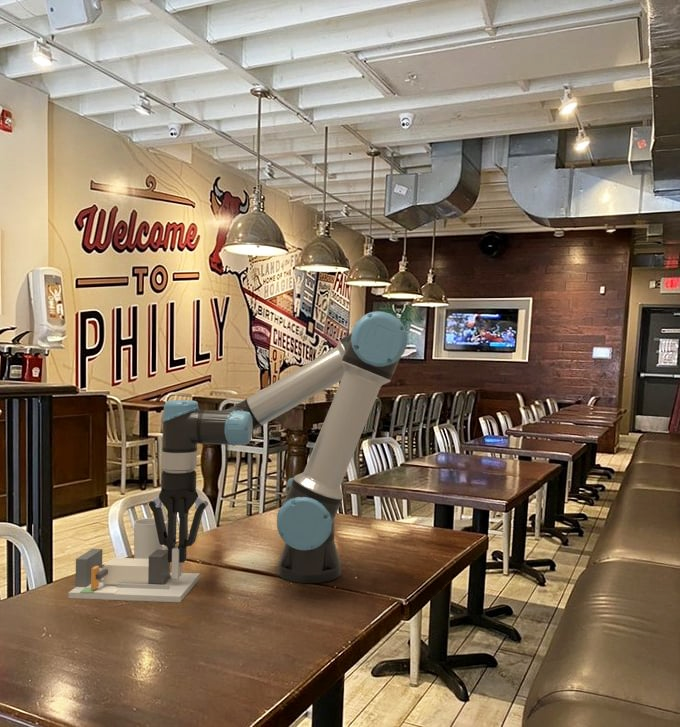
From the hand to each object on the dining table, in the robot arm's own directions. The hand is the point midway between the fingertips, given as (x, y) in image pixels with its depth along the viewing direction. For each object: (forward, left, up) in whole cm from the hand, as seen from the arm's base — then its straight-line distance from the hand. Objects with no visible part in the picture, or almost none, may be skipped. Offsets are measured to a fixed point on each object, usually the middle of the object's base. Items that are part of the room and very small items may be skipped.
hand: (176, 576), depth 141 cm
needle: (+16, +6, -1) cm, 17 cm away
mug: (+10, -13, -3) cm, 17 cm away
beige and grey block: (+9, +2, -1) cm, 9 cm away
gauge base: (+9, 0, -3) cm, 9 cm away
